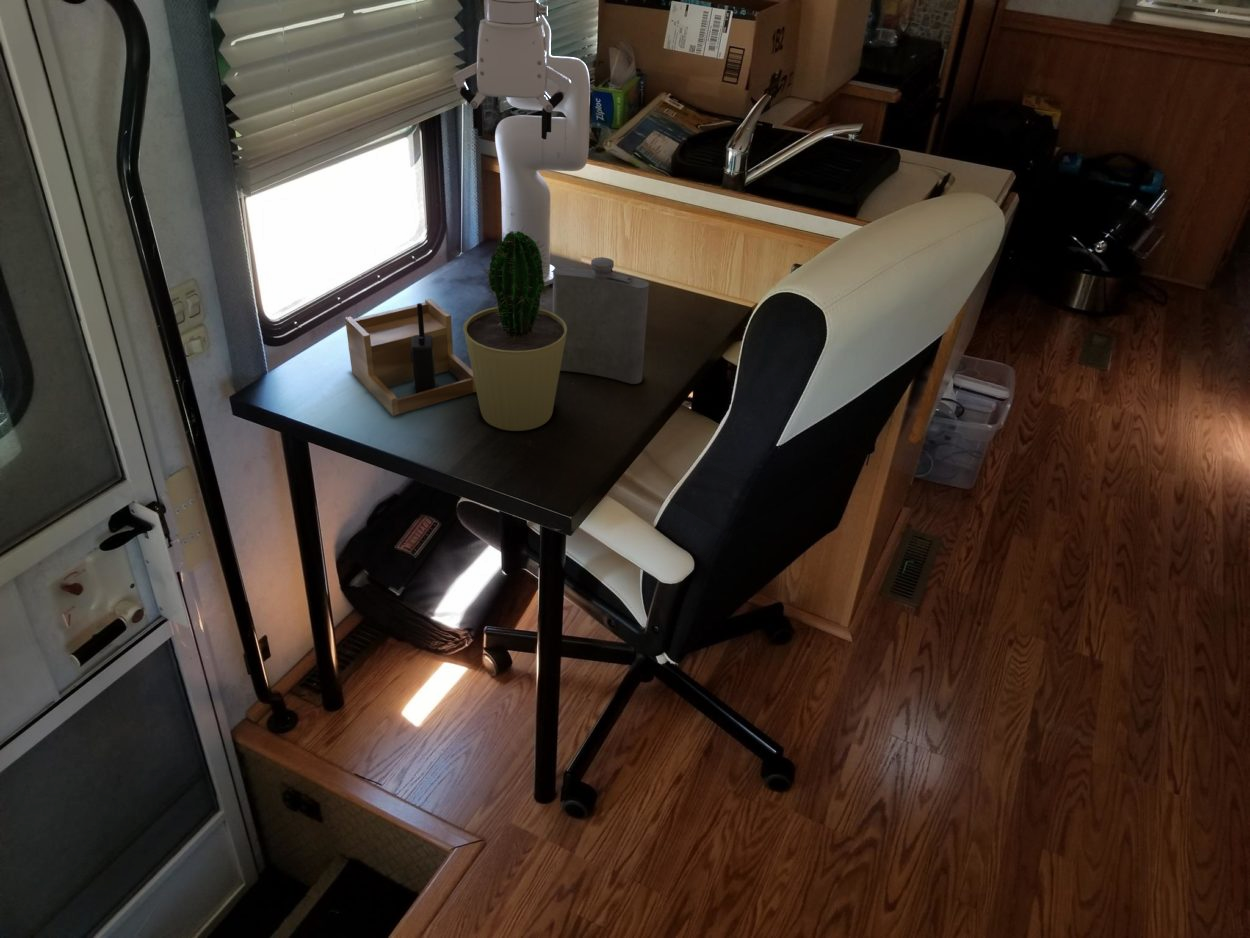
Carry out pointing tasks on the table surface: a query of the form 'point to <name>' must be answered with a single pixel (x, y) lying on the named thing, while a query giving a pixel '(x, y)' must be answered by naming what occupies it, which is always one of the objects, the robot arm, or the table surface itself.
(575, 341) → the hip flask
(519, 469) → the table surface
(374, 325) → the step shelf
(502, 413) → the potted cactus
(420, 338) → the walkie-talkie
